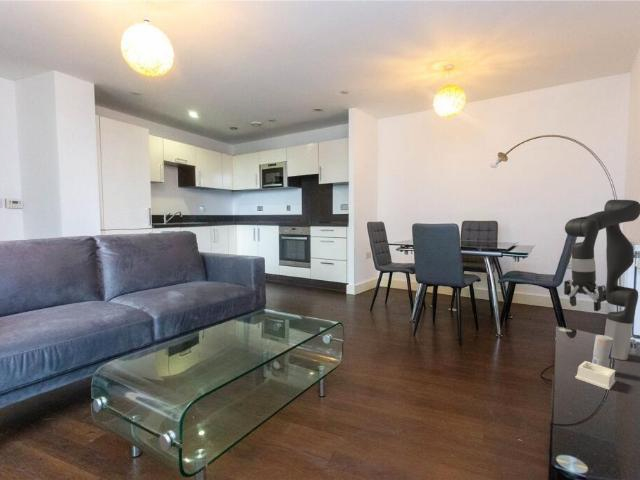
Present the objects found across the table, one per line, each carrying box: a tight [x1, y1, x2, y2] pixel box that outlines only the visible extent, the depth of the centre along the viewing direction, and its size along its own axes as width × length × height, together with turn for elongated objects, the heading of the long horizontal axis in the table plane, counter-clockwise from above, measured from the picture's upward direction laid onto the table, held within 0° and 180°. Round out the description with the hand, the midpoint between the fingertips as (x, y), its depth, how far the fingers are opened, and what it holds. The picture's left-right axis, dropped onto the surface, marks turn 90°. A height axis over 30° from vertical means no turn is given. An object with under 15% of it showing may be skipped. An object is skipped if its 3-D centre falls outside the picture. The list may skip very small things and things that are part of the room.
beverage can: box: [591, 334, 613, 369], centre depth 140 cm, size 6×6×15 cm
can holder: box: [574, 360, 616, 390], centre depth 132 cm, size 10×10×5 cm
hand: (584, 308), depth 135 cm, fingers open, 8 cm apart
